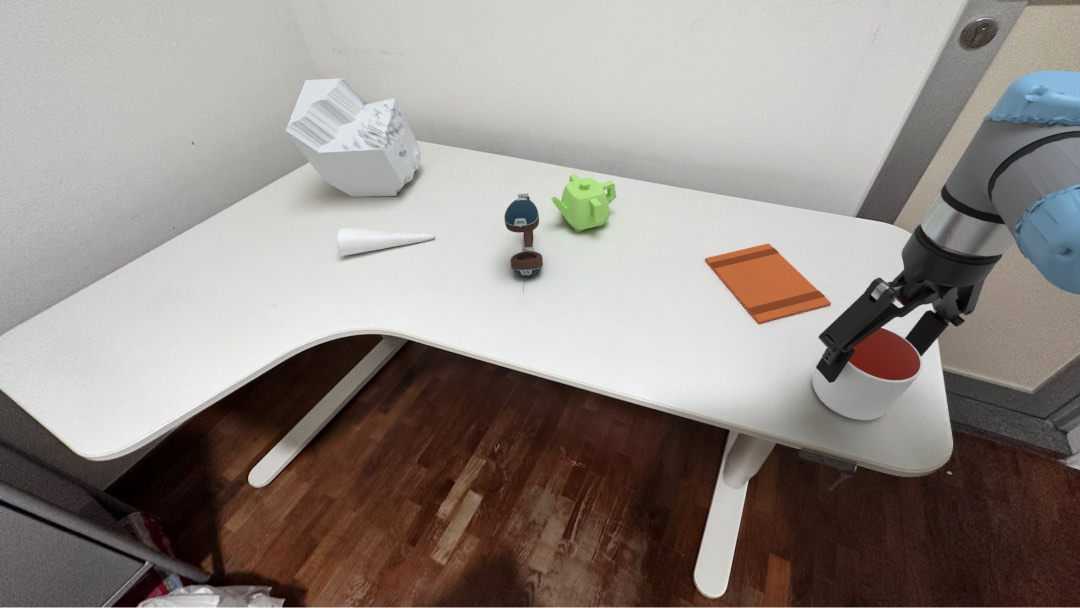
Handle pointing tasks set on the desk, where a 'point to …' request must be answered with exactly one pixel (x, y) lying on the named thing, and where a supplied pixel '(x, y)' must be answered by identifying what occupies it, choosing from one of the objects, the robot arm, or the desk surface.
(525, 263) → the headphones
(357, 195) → the white faceted rock
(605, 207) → the teapot
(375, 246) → the long cone
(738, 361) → the desk surface
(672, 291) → the desk surface
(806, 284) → the towel
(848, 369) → the cup
